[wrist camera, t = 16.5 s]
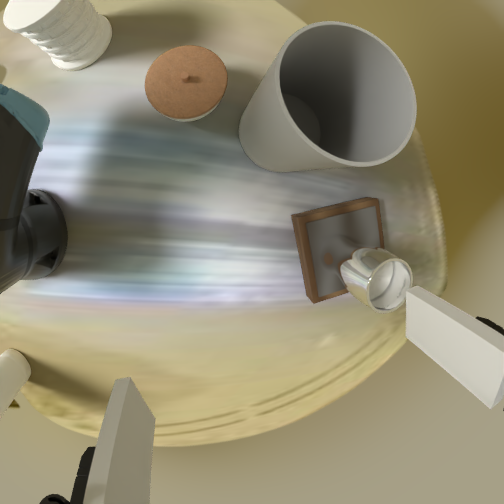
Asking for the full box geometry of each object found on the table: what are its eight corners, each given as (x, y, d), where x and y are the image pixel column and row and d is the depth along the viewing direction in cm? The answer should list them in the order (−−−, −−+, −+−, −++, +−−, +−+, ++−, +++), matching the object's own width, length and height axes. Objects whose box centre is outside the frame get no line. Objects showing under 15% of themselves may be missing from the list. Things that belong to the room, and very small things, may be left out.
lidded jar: (190, 53, 38) (187, 26, 29) (238, 94, 41) (246, 74, 32) (140, 99, 39) (125, 81, 30) (188, 142, 42) (183, 132, 33)
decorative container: (42, 61, 33) (-12, 25, 16) (80, 10, 32) (42, -40, 15) (84, 80, 36) (32, 39, 19) (125, 25, 35) (95, -34, 17)
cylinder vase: (220, 136, 42) (238, 84, 18) (273, 80, 41) (336, -1, 17) (283, 189, 45) (364, 200, 21) (331, 132, 44) (435, 101, 20)
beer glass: (308, 262, 44) (353, 299, 30) (333, 223, 44) (389, 244, 29) (341, 283, 46) (391, 324, 32) (365, 247, 45) (423, 275, 31)
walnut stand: (306, 295, 50) (314, 304, 46) (290, 215, 47) (298, 218, 43) (376, 272, 51) (388, 279, 48) (367, 196, 48) (379, 198, 44)
